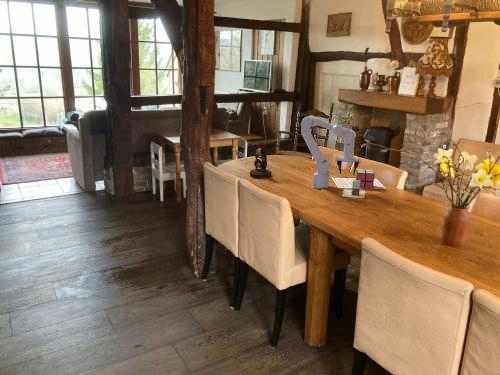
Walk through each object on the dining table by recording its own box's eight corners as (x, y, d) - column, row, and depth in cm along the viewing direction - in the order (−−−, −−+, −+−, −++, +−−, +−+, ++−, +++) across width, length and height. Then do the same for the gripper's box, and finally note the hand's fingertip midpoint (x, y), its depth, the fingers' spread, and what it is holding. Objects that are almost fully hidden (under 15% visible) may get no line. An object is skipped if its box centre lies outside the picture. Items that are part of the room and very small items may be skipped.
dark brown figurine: (276, 176, 274) (276, 146, 269) (257, 179, 266) (258, 149, 261) (262, 172, 286) (263, 143, 280) (245, 175, 278) (245, 145, 272)
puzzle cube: (373, 189, 247) (374, 173, 244) (355, 188, 249) (357, 172, 246) (371, 185, 256) (373, 169, 253) (355, 184, 258) (356, 168, 255)
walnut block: (351, 195, 233) (352, 188, 232) (352, 193, 237) (352, 186, 236) (359, 195, 232) (359, 188, 231) (359, 193, 236) (359, 186, 235)
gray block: (352, 188, 232) (352, 181, 231) (352, 186, 236) (353, 179, 235) (359, 188, 231) (360, 182, 230) (359, 186, 235) (360, 180, 234)
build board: (342, 197, 231) (342, 196, 231) (344, 190, 244) (344, 189, 244) (364, 199, 228) (364, 198, 228) (365, 192, 241) (365, 191, 241)
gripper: (335, 151, 237) (333, 174, 240) (361, 153, 233) (359, 176, 236) (336, 149, 243) (335, 171, 247) (361, 151, 239) (360, 173, 243)
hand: (347, 174), depth 242 cm, fingers open, 7 cm apart
